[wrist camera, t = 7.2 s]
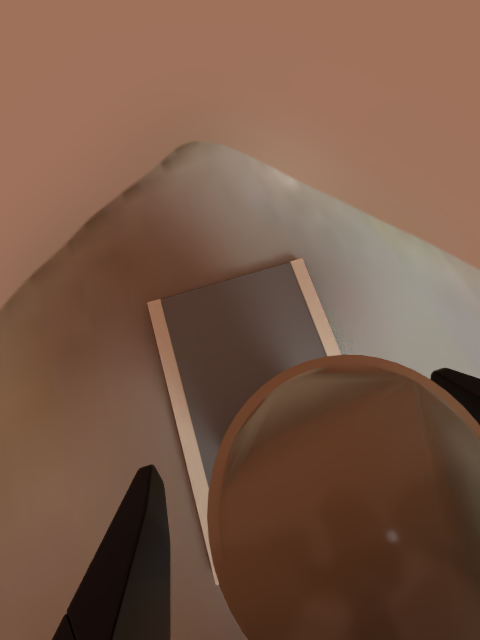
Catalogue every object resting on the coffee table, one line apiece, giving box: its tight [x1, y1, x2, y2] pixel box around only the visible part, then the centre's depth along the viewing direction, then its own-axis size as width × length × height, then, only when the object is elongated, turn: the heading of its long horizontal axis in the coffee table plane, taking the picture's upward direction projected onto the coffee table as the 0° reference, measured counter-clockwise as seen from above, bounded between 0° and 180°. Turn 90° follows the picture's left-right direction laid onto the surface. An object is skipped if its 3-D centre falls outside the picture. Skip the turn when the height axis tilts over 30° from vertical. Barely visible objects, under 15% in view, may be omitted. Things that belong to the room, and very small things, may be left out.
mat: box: [147, 258, 341, 585], centre depth 18 cm, size 15×10×1 cm, turn 17°
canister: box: [207, 355, 480, 640], centre depth 11 cm, size 6×6×12 cm
